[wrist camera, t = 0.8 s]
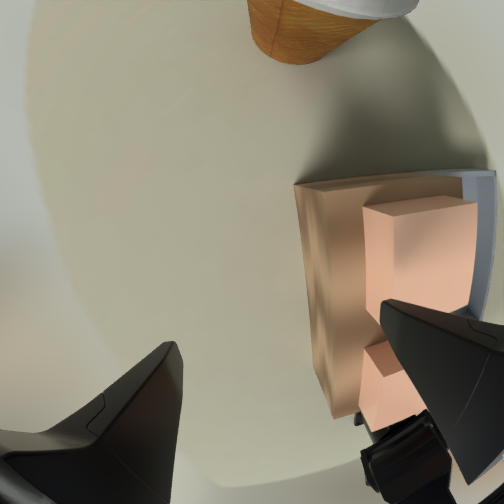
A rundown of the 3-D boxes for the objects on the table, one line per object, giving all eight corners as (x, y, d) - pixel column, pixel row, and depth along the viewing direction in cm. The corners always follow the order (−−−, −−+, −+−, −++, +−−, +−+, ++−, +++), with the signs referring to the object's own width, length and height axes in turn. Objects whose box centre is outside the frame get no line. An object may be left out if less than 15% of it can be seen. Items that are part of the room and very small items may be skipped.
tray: (466, 312, 25) (481, 323, 22) (401, 340, 24) (415, 355, 22) (476, 168, 20) (495, 170, 17) (405, 171, 19) (426, 173, 17)
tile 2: (440, 285, 15) (467, 304, 12) (365, 309, 15) (389, 336, 12) (443, 195, 13) (477, 202, 10) (362, 206, 13) (393, 216, 10)
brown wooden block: (401, 340, 24) (435, 379, 18) (313, 366, 24) (333, 419, 18) (405, 171, 19) (462, 177, 13) (293, 184, 19) (324, 192, 13)
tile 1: (421, 380, 17) (438, 402, 15) (358, 405, 17) (371, 432, 14) (434, 322, 16) (458, 344, 13) (364, 348, 16) (383, 377, 13)
